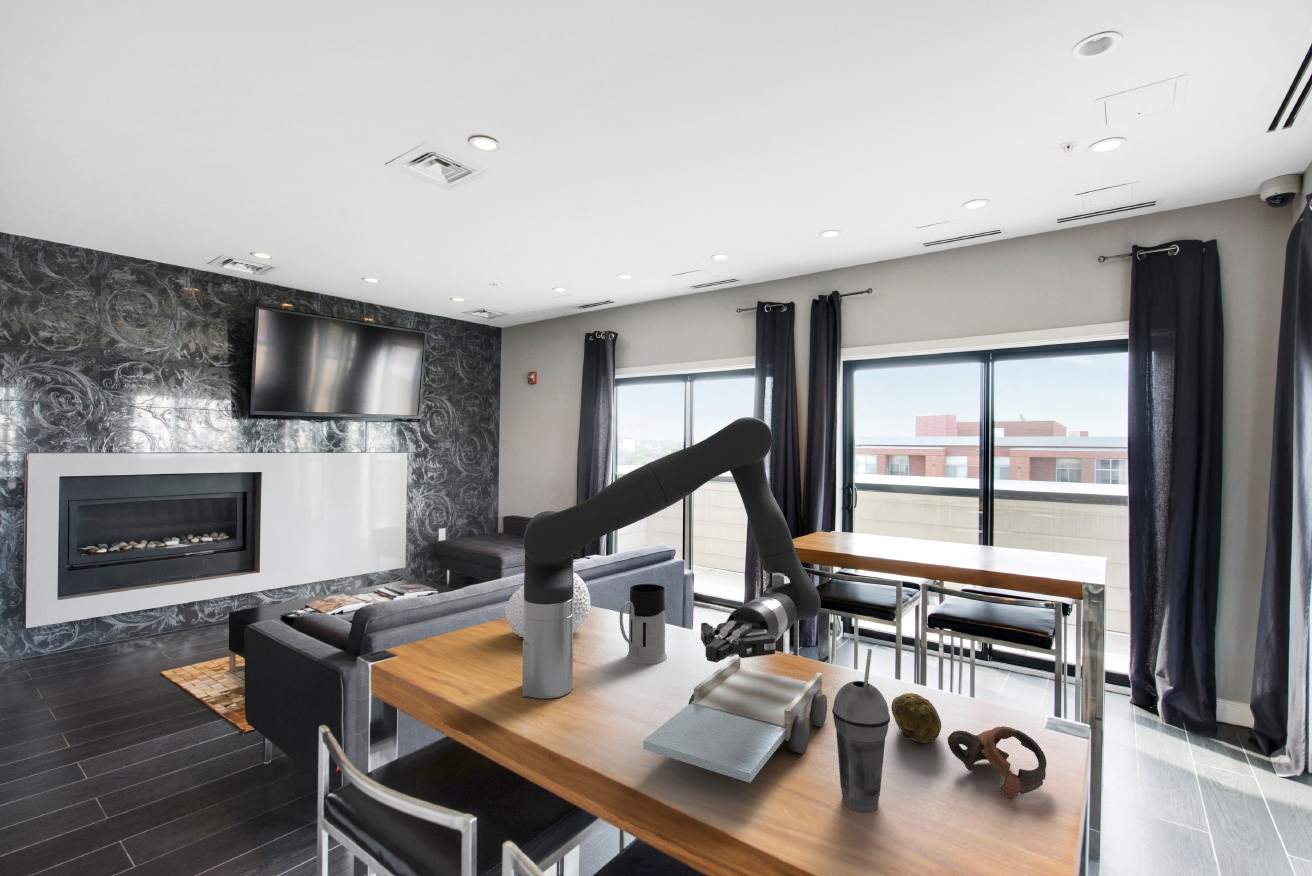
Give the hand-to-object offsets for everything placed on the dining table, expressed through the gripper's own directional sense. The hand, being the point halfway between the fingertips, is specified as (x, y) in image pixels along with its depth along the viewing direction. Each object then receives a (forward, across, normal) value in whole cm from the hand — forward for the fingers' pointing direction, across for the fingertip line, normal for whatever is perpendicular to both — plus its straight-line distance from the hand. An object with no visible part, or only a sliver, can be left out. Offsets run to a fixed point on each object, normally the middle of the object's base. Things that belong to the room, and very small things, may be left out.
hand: (711, 654), depth 87 cm
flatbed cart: (-18, 0, +17) cm, 25 cm away
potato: (-26, +23, +17) cm, 39 cm away
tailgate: (-9, 0, +12) cm, 15 cm away
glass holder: (-31, -32, +17) cm, 48 cm away
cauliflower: (-33, -59, +17) cm, 70 cm away
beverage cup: (-5, +20, +17) cm, 26 cm away
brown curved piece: (-20, +34, +17) cm, 43 cm away
